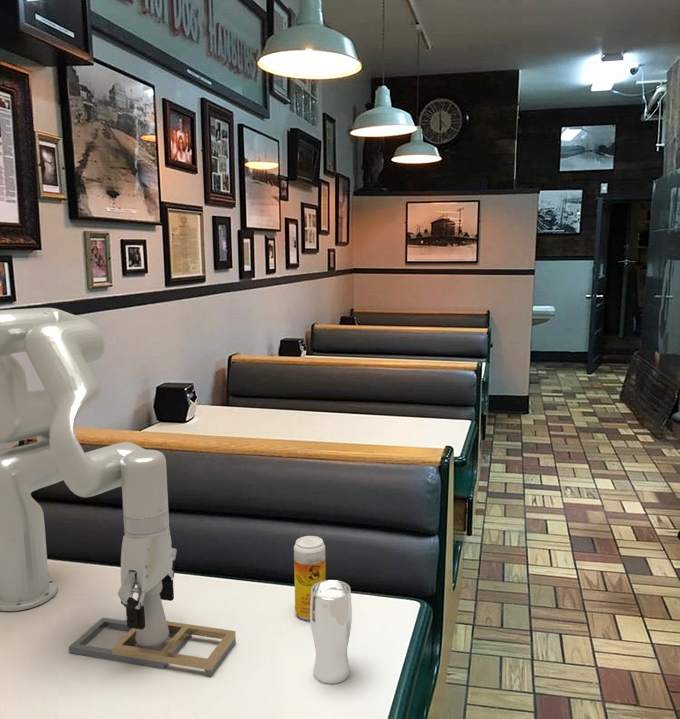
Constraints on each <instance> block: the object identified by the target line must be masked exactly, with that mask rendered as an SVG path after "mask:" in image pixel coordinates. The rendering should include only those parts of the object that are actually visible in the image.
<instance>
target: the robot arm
mask: <svg viewBox="0 0 680 719" xmlns="http://www.w3.org/2000/svg"><path fill="white" fill-rule="evenodd" d="M104 351H105V338H104V335H103V333H102V332H101V331H100V329H99V328H98V326H97V325H96V324H95V323H94V322H92V321H90V320H88V319H86V318H84V317H82V316H78V315H75V314H73V313H71V312H70V313H69V312H67V311H64V310H62V309H59V308H53V307H34V308H19V309H18V308H16V309H1V310H0V445H2V444H4V445H5V444H12V443H15V442H21V441H25V440H28V439H33V438H36V440H37V441H36V442H32V443H29V444H23V445H21V446H16V447H13V448H9V449H5V450H2V451H0V611H1V612H19V611H23V610H27V609H28V610H29V609H31V608H36V607H38V606H40V605H42V604H44V603H47V602H48V601H50V600H51V599H52V598H53V597H54V596H55V595H56V594H57V592H58V583H57V582H56V580H55V579H52V578H50V577H49V568H48V566H49V565H48V552H47V542H46V540H47V539H46V527H45V526H46V524H45V517H44V516H45V515H44V511H43V509H42V506H41V505H40V503H38V502H37V501H36V499H34V498H33V497H32V492H34V491H37V490H39V489H42V488H46V487H48V486H52V485H54V484H57V483H59V482H62V481H63V482H64V484H65V485H66V486H67V487H68V489H69V490H70V491H71V492H72V493H73V494H74V495H76V496H78V497H80V498H91V497H94V496H97V495H98V496H99V495H100V494H103V493H105V492H108V491H111V490H114V489H116V488H120V487H121V492H122V509H123V510H122V511H123V528H124V529H123V530H124V535H123V537H122V543H121V550H120V551H121V554H120V585H121V586H120V587H119V589H118V591H117V596H118V598H119V600H120V603H121V605H123V607H124V608H125V611H126V613H125V614H126V621H127V627H129V628H134V629H141V630H143V629H144V628H145V612H144V606H142V603H143V599H144V596H145V593H146V592H148V591H149V590H151V589H152V588H153V587H154V586H155V585H157V584H158V583H159V582H160V581H162V590H161V592H160V593H159V594H160V598H161V601H162V600H163V601H169V602H173V600H174V598H175V593H174V577H175V572H174V569H175V566H176V556H177V552H178V551H177V548H173V547H172V537H171V531H170V519H169V518H170V514H169V494H168V491H169V490H168V474H167V472H168V471H167V460H166V456H165V455H164V453H163V452H161V451H159V450H156V449H145V448H143V447H142V446H140V445H138V444H135V443H134V442H130V441H122V442H118V443H114V444H111V445H107V446H103V447H100V448H97V449H93V450H90V451H86V452H85V451H84V449H83V447H82V445H81V444H80V441H79V439H78V436H77V433H76V427H75V425H76V424H75V423H76V419H77V417H78V415H79V414H80V413H82V412H83V411H84V410H86V409H87V408H89V407H90V406H92V404H94V402H96V400H97V399H98V398H99V397H100V395H101V387H100V385H99V383H98V381H97V379H96V377H95V375H94V374H93V372H92V369H91V368H90V366H89V365H88V363H93V362H95V361H97V360H99V359H100V358H101V357H102V356H103V354H104ZM18 353H26V355H27V357H28V359H29V361H30V363H31V365H32V366H33V367H32V368H34V370H35V373H36V375H37V376H38V379H39V381H40V382H41V385H42V386H43V388H44V389H37V390H35V389H34V390H30V391H29V389H28V388H29V387H28V384H27V383H28V382H27V376H26V372H25V369H24V367H23V366H22V365H21V363H20V362H19V361H18V359H16V358H15V357H14V356H13V354H18ZM137 585H139V587H141V589H139V588H137V587H136V586H137ZM138 593H139V594H138ZM134 594H137V599H135V598H134V597H133V595H134Z"/></svg>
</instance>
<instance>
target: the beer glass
mask: <svg viewBox="0 0 680 719" xmlns="http://www.w3.org/2000/svg"><path fill="white" fill-rule="evenodd" d="M351 589H352V588H351V586H350V585H349V584H348V583H346V582H345V581H341V580H337V579H326V580H325V581H321V582H318V583H316V584H314V585H313V586H312V588H311V600H310V620H309V621H310V627H311V628H310V629H311V633H312V634H311V635H312V638H313V643H314V644H313V645H314V648H315V660H314V664H313V665H314V666H313V676H314V678H315V679H316V680H318V681H319V682H321V683H322V684H323V683H324V684H328V685H334V684H335V685H336V684H340V683H342V682H344V681H346V680H347V679H348V678H349V676H350V672H351V670H350V664H349V658H348V647H349V641H350V636H351V630H352V623H353V622H352V621H353V604H352V595H351Z"/></svg>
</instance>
